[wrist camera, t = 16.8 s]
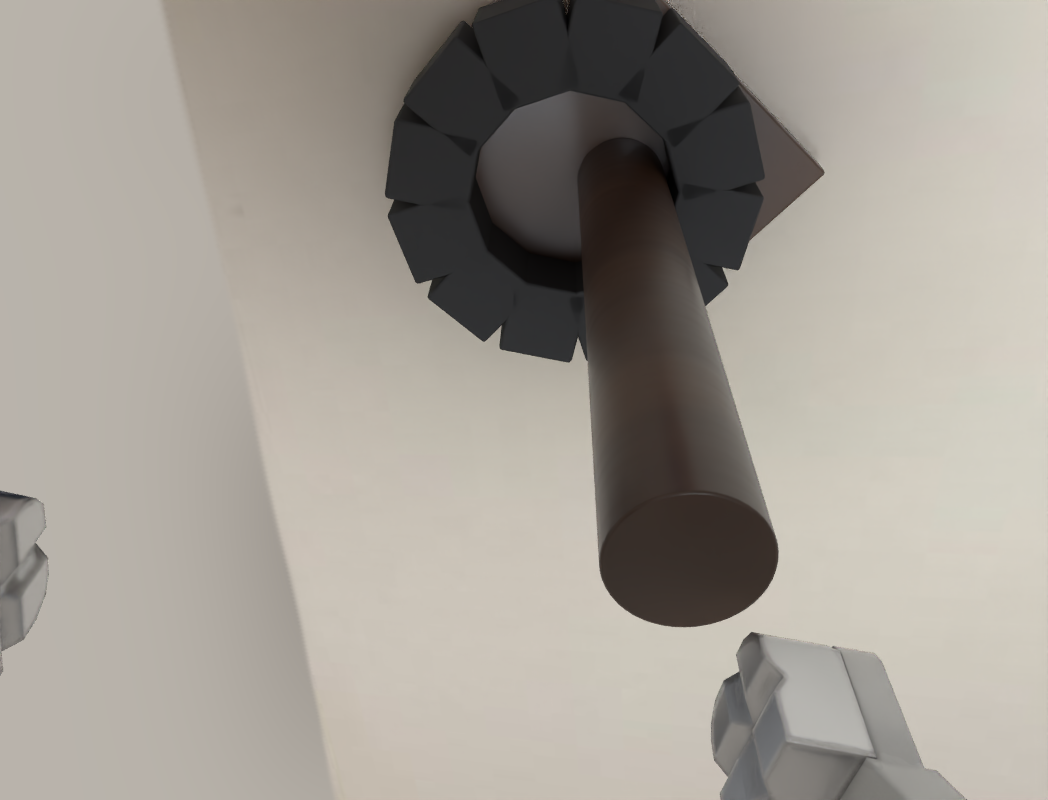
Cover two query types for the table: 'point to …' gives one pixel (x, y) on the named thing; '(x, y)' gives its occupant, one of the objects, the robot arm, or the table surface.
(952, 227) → the table surface
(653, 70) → the ring
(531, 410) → the table surface
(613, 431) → the post
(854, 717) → the robot arm
